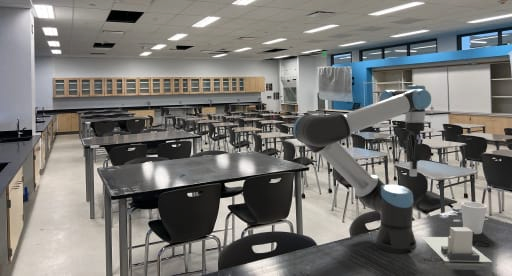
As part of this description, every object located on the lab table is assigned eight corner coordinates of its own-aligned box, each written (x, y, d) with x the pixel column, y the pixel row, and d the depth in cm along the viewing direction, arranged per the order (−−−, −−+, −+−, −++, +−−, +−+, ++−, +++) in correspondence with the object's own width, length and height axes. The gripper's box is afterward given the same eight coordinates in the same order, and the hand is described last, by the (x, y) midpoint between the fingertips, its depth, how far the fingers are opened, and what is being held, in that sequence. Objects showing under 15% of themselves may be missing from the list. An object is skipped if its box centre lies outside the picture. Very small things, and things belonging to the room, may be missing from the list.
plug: (450, 258, 134) (452, 231, 133) (446, 253, 138) (447, 227, 137) (474, 258, 133) (476, 231, 132) (469, 254, 137) (470, 227, 136)
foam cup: (487, 234, 161) (489, 204, 159) (482, 240, 154) (483, 209, 153) (463, 229, 167) (464, 200, 166) (456, 234, 160) (458, 205, 159)
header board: (444, 265, 132) (445, 255, 132) (420, 240, 155) (421, 232, 154) (492, 266, 131) (492, 256, 130) (461, 240, 154) (461, 232, 153)
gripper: (429, 122, 154) (427, 179, 157) (418, 120, 167) (416, 173, 170) (411, 122, 155) (409, 179, 157) (401, 120, 168) (399, 173, 170)
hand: (413, 176), depth 164 cm, fingers closed
